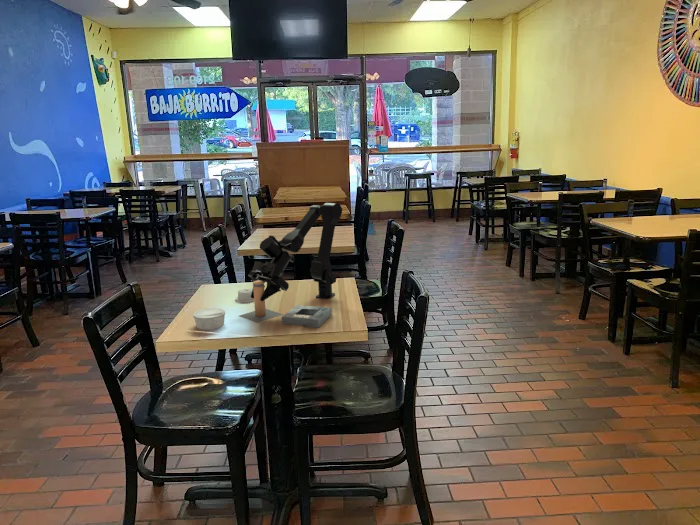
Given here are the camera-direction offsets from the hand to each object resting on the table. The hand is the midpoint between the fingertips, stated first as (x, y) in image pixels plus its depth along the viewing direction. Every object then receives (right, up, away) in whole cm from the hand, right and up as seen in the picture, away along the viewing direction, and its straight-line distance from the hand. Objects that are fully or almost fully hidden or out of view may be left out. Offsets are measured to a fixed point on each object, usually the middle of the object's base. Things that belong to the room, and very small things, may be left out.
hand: (256, 299), depth 199 cm
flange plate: (+19, -7, -3) cm, 21 cm away
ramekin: (-15, -10, -6) cm, 19 cm away
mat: (+1, -7, +3) cm, 7 cm away
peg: (+1, -6, +2) cm, 7 cm away
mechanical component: (-8, -2, +24) cm, 25 cm away
